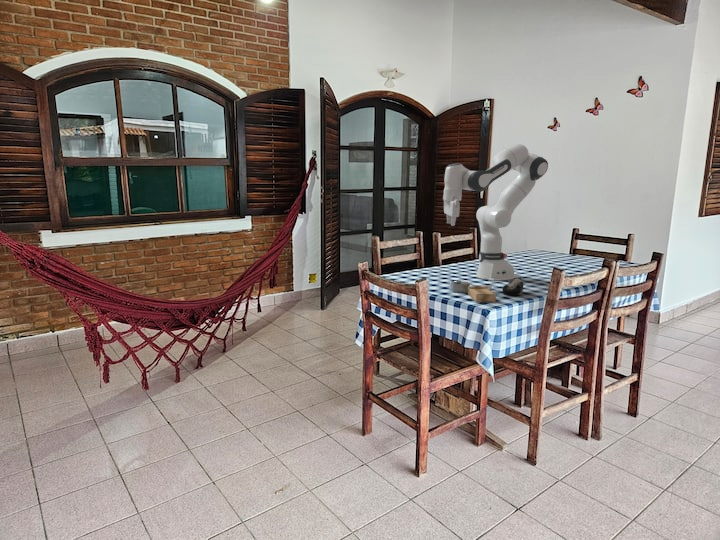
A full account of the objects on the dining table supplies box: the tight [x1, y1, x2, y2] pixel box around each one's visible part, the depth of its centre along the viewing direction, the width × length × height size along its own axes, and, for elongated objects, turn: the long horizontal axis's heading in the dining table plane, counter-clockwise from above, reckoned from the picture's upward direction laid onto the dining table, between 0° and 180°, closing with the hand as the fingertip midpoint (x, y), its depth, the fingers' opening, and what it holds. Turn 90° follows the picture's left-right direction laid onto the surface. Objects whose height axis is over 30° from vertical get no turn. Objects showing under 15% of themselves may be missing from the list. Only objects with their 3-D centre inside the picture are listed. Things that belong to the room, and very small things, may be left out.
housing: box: [450, 280, 471, 293], centre depth 243 cm, size 8×5×5 cm, turn 92°
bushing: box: [483, 284, 492, 292], centre depth 242 cm, size 4×4×3 cm
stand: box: [467, 285, 497, 303], centre depth 230 cm, size 9×14×4 cm, turn 3°
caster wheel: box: [502, 276, 524, 297], centre depth 239 cm, size 7×11×10 cm
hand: (450, 224), depth 249 cm, fingers open, 8 cm apart
